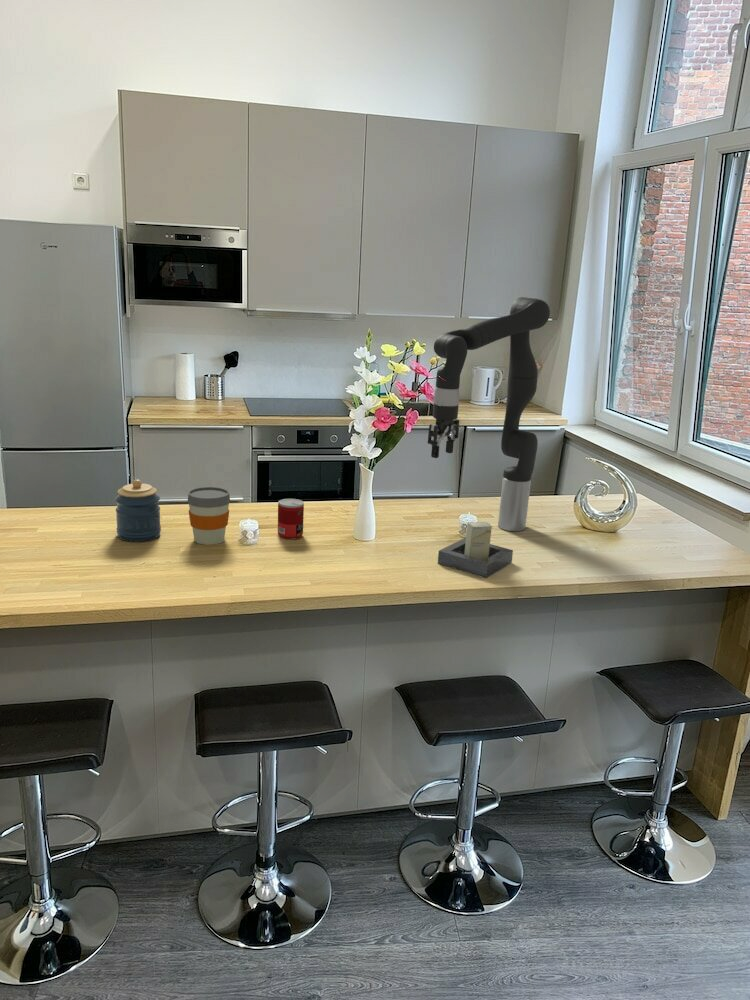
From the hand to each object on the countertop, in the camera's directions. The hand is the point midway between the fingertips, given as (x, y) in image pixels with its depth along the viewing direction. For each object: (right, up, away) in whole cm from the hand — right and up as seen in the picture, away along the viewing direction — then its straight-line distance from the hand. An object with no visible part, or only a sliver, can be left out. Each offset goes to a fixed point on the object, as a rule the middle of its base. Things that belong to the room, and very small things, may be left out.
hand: (442, 455), depth 238 cm
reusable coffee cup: (-71, -26, -1) cm, 76 cm away
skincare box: (+9, -32, -8) cm, 35 cm away
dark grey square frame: (+9, -32, -8) cm, 35 cm away
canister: (-93, -25, 0) cm, 96 cm away
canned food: (-47, -25, +7) cm, 54 cm away
